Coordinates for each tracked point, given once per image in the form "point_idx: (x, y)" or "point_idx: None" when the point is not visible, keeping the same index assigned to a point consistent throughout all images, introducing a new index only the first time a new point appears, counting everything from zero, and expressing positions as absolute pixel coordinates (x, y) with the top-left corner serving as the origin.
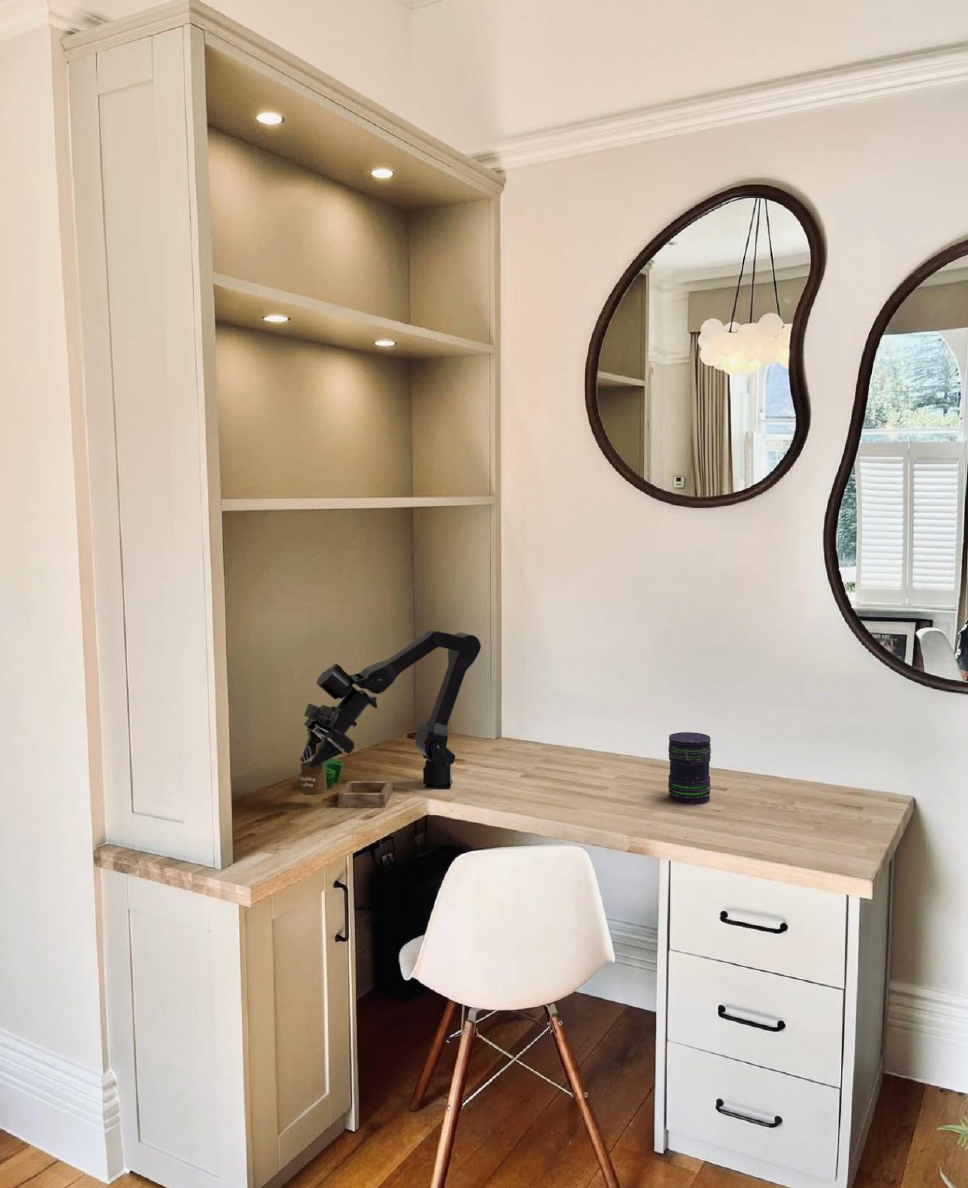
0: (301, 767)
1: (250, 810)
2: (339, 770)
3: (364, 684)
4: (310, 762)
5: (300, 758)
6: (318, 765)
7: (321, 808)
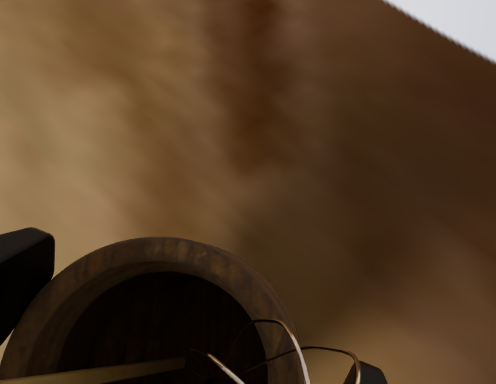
0: (217, 249)
1: (436, 75)
2: None
3: None
4: (16, 240)
5: (379, 373)
6: (1, 366)
7: None
